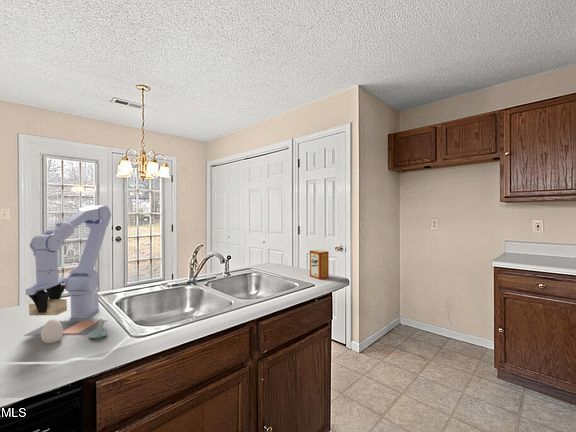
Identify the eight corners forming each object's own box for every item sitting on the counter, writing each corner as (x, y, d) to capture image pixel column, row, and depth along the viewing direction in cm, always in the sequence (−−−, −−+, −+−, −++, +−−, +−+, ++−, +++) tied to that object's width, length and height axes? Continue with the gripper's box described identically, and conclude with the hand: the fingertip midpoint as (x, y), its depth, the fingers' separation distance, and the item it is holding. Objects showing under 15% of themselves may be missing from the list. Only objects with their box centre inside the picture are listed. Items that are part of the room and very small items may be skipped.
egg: (65, 338, 93) (65, 315, 93) (59, 345, 88) (59, 321, 88) (45, 341, 91) (44, 318, 91) (38, 348, 86) (37, 324, 86)
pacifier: (84, 346, 88) (108, 340, 92) (83, 326, 88) (106, 321, 91) (85, 337, 94) (106, 332, 98) (83, 318, 94) (105, 314, 97)
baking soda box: (309, 276, 175) (309, 250, 175) (318, 274, 179) (318, 249, 178) (320, 279, 167) (319, 251, 167) (328, 278, 171) (328, 250, 171)
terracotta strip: (81, 321, 105) (81, 321, 105) (98, 321, 106) (98, 320, 106) (59, 334, 95) (59, 333, 95) (78, 333, 95) (78, 333, 95)
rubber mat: (52, 322, 106) (52, 321, 106) (108, 322, 106) (108, 320, 106) (23, 337, 94) (23, 335, 94) (85, 336, 94) (85, 334, 94)
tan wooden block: (29, 315, 96) (28, 303, 96) (40, 310, 100) (40, 299, 100) (57, 315, 96) (56, 303, 96) (66, 310, 100) (66, 298, 100)
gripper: (52, 265, 105) (53, 302, 105) (15, 275, 90) (16, 318, 91) (72, 265, 105) (73, 302, 105) (38, 274, 90) (39, 318, 91)
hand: (48, 309), depth 98 cm, fingers closed on tan wooden block, 4 cm apart
